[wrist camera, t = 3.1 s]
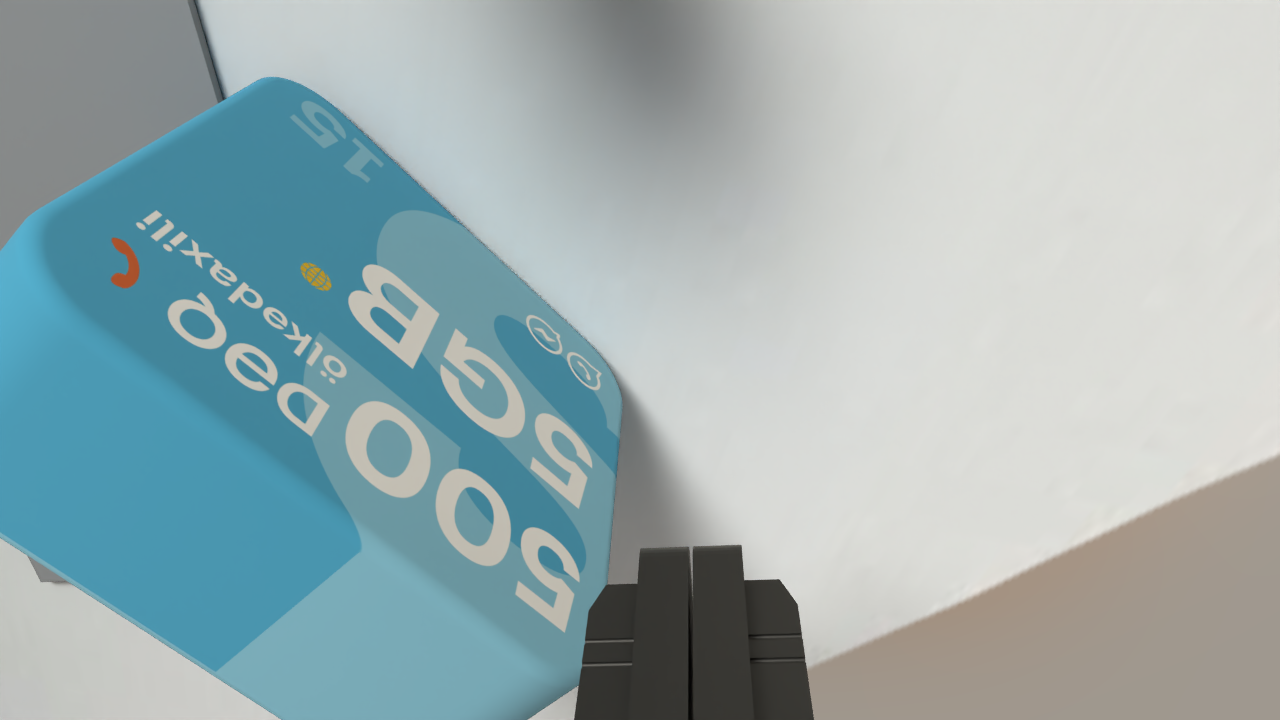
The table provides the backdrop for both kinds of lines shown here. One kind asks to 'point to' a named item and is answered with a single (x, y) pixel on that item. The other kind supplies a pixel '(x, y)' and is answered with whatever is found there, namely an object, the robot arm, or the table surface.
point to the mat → (90, 95)
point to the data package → (305, 424)
